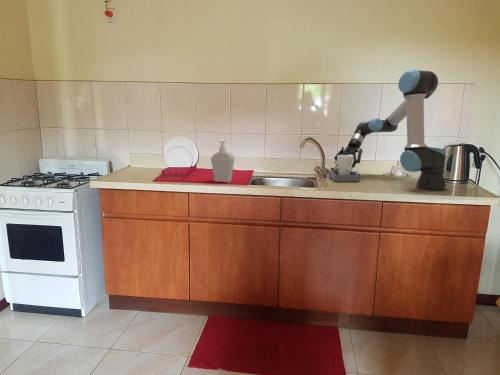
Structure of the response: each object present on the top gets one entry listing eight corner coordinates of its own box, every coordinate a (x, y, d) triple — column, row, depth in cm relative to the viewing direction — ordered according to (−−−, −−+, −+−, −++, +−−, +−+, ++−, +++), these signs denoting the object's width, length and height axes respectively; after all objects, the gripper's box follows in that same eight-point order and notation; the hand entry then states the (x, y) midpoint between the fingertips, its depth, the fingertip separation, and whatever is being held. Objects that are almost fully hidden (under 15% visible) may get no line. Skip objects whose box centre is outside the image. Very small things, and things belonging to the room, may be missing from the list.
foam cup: (348, 178, 231) (349, 157, 228) (334, 176, 236) (335, 156, 233) (353, 176, 238) (355, 155, 235) (339, 174, 243) (340, 154, 240)
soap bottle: (235, 180, 235) (235, 138, 229) (231, 183, 225) (230, 140, 220) (216, 179, 237) (215, 138, 232) (211, 182, 228) (210, 139, 222)
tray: (358, 182, 230) (359, 175, 229) (335, 182, 230) (335, 175, 229) (351, 177, 245) (352, 170, 244) (329, 177, 244) (329, 170, 243)
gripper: (373, 147, 237) (360, 175, 229) (342, 144, 251) (328, 171, 243) (370, 139, 232) (356, 168, 224) (338, 137, 246) (324, 164, 239)
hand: (341, 169), depth 234 cm, fingers open, 10 cm apart
